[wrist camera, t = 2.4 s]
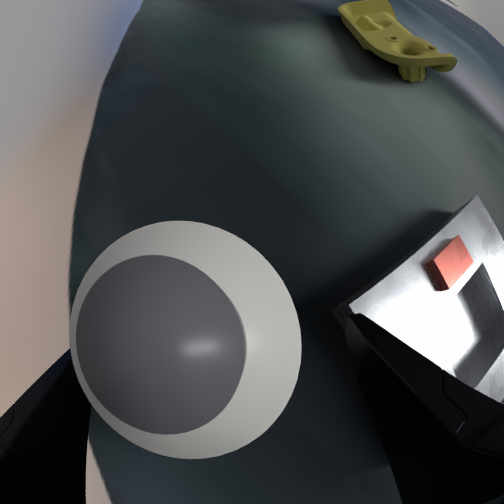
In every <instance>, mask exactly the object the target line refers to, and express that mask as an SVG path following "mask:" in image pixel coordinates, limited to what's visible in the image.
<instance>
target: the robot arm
mask: <svg viewBox="0 0 504 504" xmlns="http://www.w3.org/2000/svg"><path fill="white" fill-rule="evenodd" d="M345 339H346V342H347V346H348V349H349V353H350V356H351V360H352V363H353V367H354V370H355V374H356V377H357V380H358V383H359V385H360V388H361V390H362V393H363V395H364V398H365V400H366V403H367V405H368V408H369V410H370V413H371V415H372V418H373V420H374V423H375V426H376V428H377V431H378V433H379V436H380V439H381V441H382V444H383V447H384V450H385V452H386V455H387V458H388V461H389V464H390V466H391V469H392V472H393V475H394V478H395V481H396V484H397V487H398V491H399V494H400V497H401V500H402V503H403V504H504V404H502V403H500V402H498V401H496V400H494V399H492V398H491V397H489V396H487V395H485V394H483V393H481V392H479V391H478V390H476V389H474V388H472V387H470V386H469V385H467V384H465V383H464V382H462V381H460V380H459V379H457V378H456V377H454V376H453V375H451V374H450V373H448V372H447V371H446V370H444V369H443V370H442V368H441V367H440V366H438V365H437V364H435V363H434V362H432V361H431V360H429V359H428V358H427V357H425V356H424V355H422V354H421V353H419V352H418V351H416V350H415V349H413V348H412V347H411V346H409V345H408V344H406V343H405V342H403V341H402V340H400V339H399V338H397V337H396V336H394V335H393V334H391V333H390V332H389V331H387V330H386V329H384V328H383V327H381V326H380V325H378V324H377V323H375V322H374V321H372V320H371V319H369V318H368V317H366V316H365V315H363V314H362V313H356V314H352V315H349V316H348V318H347V324H346V330H345ZM91 405H92V404H91V403H90V402H89V400H88V398H87V396H86V395H85V393H84V391H83V389H82V387H81V385H80V382H79V380H78V378H77V375H76V372H75V368H74V365H73V361H72V356H71V349H69V350H68V351H67V352H65V353H64V354H63V355H62V356H61V357H60V358H59V359H58V360H57V361H56V362H55V363H54V364H53V365H52V366H51V367H50V368H49V369H48V370H47V371H46V372H45V373H44V374H43V375H42V376H41V377H40V378H39V379H38V380H37V381H36V382H35V383H34V384H33V385H32V386H31V387H30V388H29V389H28V390H27V391H26V392H25V393H24V394H23V395H22V396H21V397H20V398H19V399H18V400H17V401H16V402H15V404H13V405H12V406H11V407H10V408H9V409H8V410H7V412H5V413H4V415H3V416H2V417H0V504H86V496H85V494H86V492H85V491H86V490H85V489H86V454H87V441H88V431H89V421H90V413H91Z"/></svg>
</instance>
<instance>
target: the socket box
mask: <svg viewBox="0 0 504 504" xmlns="http://www.w3.org/2000/svg"><path fill="white" fill-rule="evenodd" d="M331 311H332V313H333V314H334V316H335V318H336V319H337V321H338V323H339V324H340V326H341V328H342V329H343V331H344V333H345V330H346V324H347V318H348V316H349V315H352V314H356V313H362V314H363V315H365V316H366V317H368V318H369V319H371V320H372V321H374V322H375V323H377V324H378V325H380V326H381V327H383V328H384V329H386V330H387V331H389V332H390V333H391V334H393V335H394V336H396V337H397V338H399V339H400V340H402V341H403V342H405V343H406V344H408V345H409V346H411V347H412V348H413V349H415V350H416V351H418V352H419V353H421V354H422V355H424V356H425V357H427V358H428V359H429V360H431V361H432V362H434V363H435V364H437V365H438V366H440V367H441V368H442V370H443V369H444V370H446V371H447V372H448V373H450V374H451V375H453V376H454V377H456V378H457V379H459V380H460V381H462V382H464V383H465V384H467V385H469V386H470V387H472V388H474V389H476V390H478V391H479V392H481V393H483V394H485V395H487V396H489V397H491V398H492V399H494V400H496V401H498V402H500V403H501V401H502V400H503V398H504V241H503V239H502V237H501V235H500V233H499V232H498V230H497V228H496V226H495V224H494V222H493V220H492V219H491V217H490V215H489V213H488V212H487V210H486V208H485V207H484V205H483V203H482V202H481V200H480V199H479V197H478V195H476V196H475V197H474V198H472V199H471V200H470V201H468V202H467V203H466V204H464V205H463V206H462V207H460V208H459V209H458V210H456V211H455V212H453V213H452V214H451V215H450V216H449V217H448V218H447V219H446V220H445V221H444V222H443V223H442V224H440V225H439V226H438V227H437V228H436V229H435V230H434V231H433V232H431V233H430V234H429V235H428V236H427V237H426V238H425V239H423V240H422V241H421V242H420V243H419V244H417V245H416V246H415V247H414V248H413V249H412V250H410V251H409V252H408V253H407V254H405V255H404V256H403V257H402V258H401V259H399V260H398V261H397V262H396V263H394V264H393V265H392V266H390V267H389V268H388V269H387V270H385V271H384V272H383V273H381V274H380V275H379V276H378V277H376V278H375V279H374V280H372V281H371V282H370V283H368V284H367V285H366V286H364V287H363V288H361V289H360V290H359V291H357V292H356V293H355V294H353V295H352V296H350V297H349V298H348V299H346V300H345V301H343V302H342V303H340V304H339V305H337V306H336V307H335V308H333V309H332V310H331Z"/></svg>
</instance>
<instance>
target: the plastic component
mask: <svg viewBox="0 0 504 504" xmlns="http://www.w3.org/2000/svg"><path fill="white" fill-rule="evenodd" d="M338 11H339V13H340V16H341V18H342V21H343V23H344V25H345V26H346V27H347V28H348V29H349V31H350V32H351V33H352V34H353V35H354V37H355V38H356V39H357V40H358V42H359V43H360V44H361V46H362V47H363V48H364V49H365V50H371V51H372V52H373V53H375V54H376V55H377V56H379V57H381V58H382V59H384V60H386V61H388V62H391V63H393V64H397V65H398V69H399V74H401V75H402V78H403V79H404V80H409V81H411V83H414V82H416V81H421V82H422V81H423V78H425V67H427V66H429V67H430V68H432V69H433V70H436V71H439V72H447V71H451V70H452V69H454V67H455V66H456V63H457V59H456V58H455V57H454V56H453V55H451V54H440V53H439V52H438V51H437V48H436V47H435V46H432V45H431V44H430V43H429V42H427V41H425V40H423V39H421V38H418V37H415V36H413V35H412V34H411V33H410V32H409V31H408V30H407V29H405V28H404V27H403V26H402V25H401V24H400V23H399V22H398V21H397V19H396V16H395V14H394V11H393V9H392V7H391V5H390V3H389V2H388V1H387V0H364V1H357V2H351V3H346V4H343V5H341V6H339V7H338Z"/></svg>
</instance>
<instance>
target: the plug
mask: <svg viewBox="0 0 504 504" xmlns="http://www.w3.org/2000/svg"><path fill="white" fill-rule="evenodd" d="M69 334H70V349H71V356H72V361H73V365H74V368H75V372H76V375H77V378H78V380H79V382H80V385H81V387H82V389H83V391H84V393H85V395H86V396H87V398H88V400H89V402H90V403H91V404H92V406H93V407H94V409H95V410H96V411H97V413H98V414H99V415H100V416H101V417H102V418H103V419H104V421H105V422H106V423H107V424H108V425H109V426H111V427H112V428H113V429H114V430H115V431H116V432H118V433H119V434H120V435H122V436H123V437H124V438H126V439H127V440H129V441H130V442H132V443H134V444H136V445H138V446H140V447H142V448H144V449H146V450H149V451H151V452H154V453H157V454H160V455H164V456H169V457H174V458H183V459H202V458H210V457H215V456H220V455H223V454H226V453H229V452H232V451H235V450H237V449H239V448H241V447H243V446H245V445H247V444H249V443H250V442H252V441H253V440H255V439H256V438H257V437H259V436H260V435H261V434H263V433H264V432H265V431H266V430H267V429H268V428H269V427H270V426H271V425H272V424H273V423H274V422H275V420H276V419H277V418H278V416H279V415H280V414H281V413H282V411H283V410H284V408H285V406H286V404H287V403H288V401H289V399H290V397H291V395H292V392H293V390H294V387H295V384H296V381H297V378H298V373H299V368H300V363H301V347H302V345H301V333H300V326H299V321H298V317H297V312H296V310H295V307H294V304H293V301H292V299H291V296H290V294H289V292H288V290H287V288H286V286H285V285H284V283H283V281H282V279H281V278H280V276H279V275H278V274H277V272H276V271H275V270H274V268H273V267H272V266H271V264H270V263H269V262H268V261H267V260H266V259H265V258H264V257H263V256H262V255H261V254H260V253H259V252H258V251H256V250H255V249H254V248H253V247H252V246H250V245H249V244H248V243H246V242H245V241H243V240H242V239H240V238H238V237H237V236H235V235H233V234H231V233H229V232H227V231H225V230H222V229H220V228H217V227H214V226H210V225H207V224H203V223H197V222H191V221H169V222H160V223H156V224H152V225H148V226H144V227H142V228H139V229H137V230H134V231H132V232H130V233H128V234H126V235H125V236H123V237H121V238H120V239H118V240H117V241H115V242H114V243H113V244H111V245H110V246H109V247H108V248H107V249H106V250H105V251H104V252H103V253H102V254H100V255H99V257H98V258H97V259H96V260H95V262H94V263H93V264H92V265H91V267H90V268H89V270H88V271H87V273H86V275H85V276H84V278H83V280H82V282H81V284H80V286H79V288H78V291H77V294H76V297H75V300H74V303H73V307H72V312H71V318H70V331H69Z"/></svg>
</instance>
